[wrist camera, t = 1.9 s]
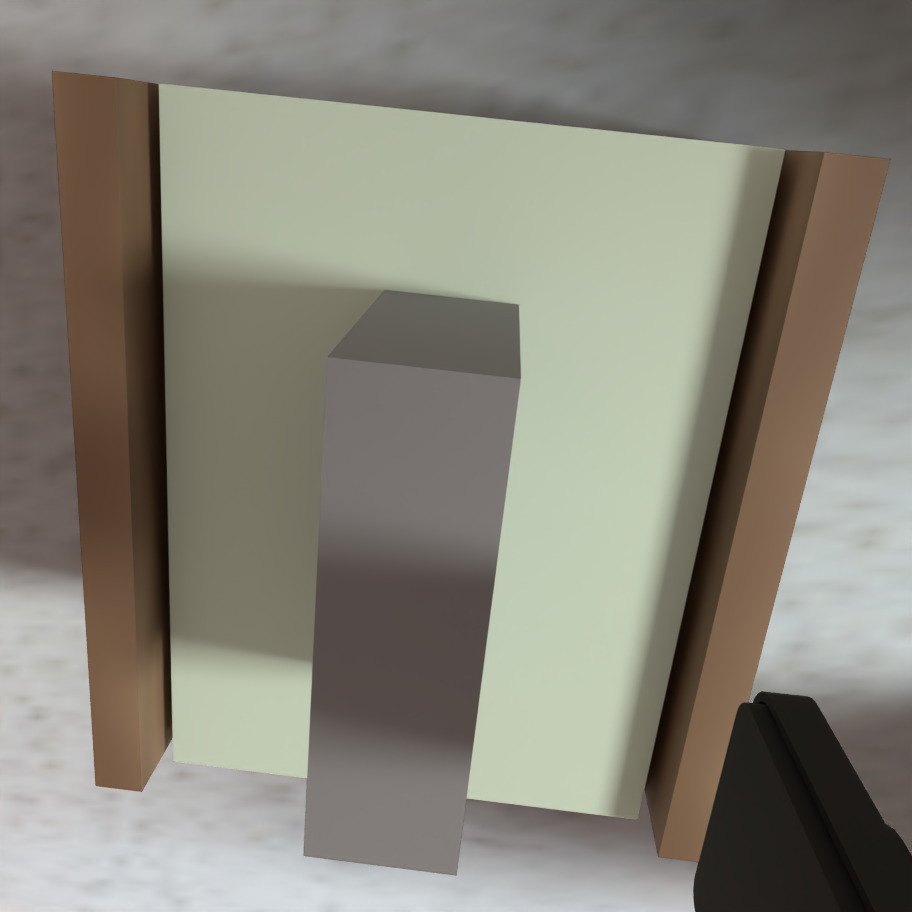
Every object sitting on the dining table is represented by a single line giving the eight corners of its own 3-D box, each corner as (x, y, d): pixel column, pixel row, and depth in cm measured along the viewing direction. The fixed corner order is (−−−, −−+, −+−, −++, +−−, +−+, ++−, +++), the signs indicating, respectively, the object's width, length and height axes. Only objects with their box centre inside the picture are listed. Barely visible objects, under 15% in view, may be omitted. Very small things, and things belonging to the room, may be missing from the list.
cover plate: (768, 148, 15) (920, 154, 9) (631, 787, 20) (678, 1042, 14) (180, 86, 15) (-14, 57, 10) (189, 732, 20) (63, 962, 15)
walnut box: (753, 151, 21) (890, 158, 13) (649, 650, 26) (705, 863, 18) (217, 94, 21) (51, 70, 13) (216, 598, 26) (96, 785, 18)
